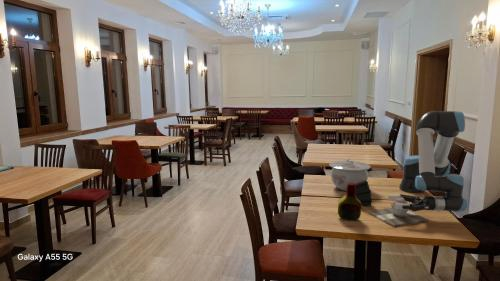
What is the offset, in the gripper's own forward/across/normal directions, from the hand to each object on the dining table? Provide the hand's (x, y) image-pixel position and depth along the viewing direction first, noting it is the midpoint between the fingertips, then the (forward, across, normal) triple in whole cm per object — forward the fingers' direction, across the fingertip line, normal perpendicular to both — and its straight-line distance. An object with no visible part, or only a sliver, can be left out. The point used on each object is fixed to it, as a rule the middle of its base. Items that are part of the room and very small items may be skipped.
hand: (391, 201), depth 177 cm
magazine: (+13, +18, -9) cm, 24 cm away
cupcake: (-4, 0, -7) cm, 8 cm away
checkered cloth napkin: (-3, 0, -8) cm, 9 cm away
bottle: (+23, -6, -9) cm, 25 cm away
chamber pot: (+14, +49, -9) cm, 52 cm away
